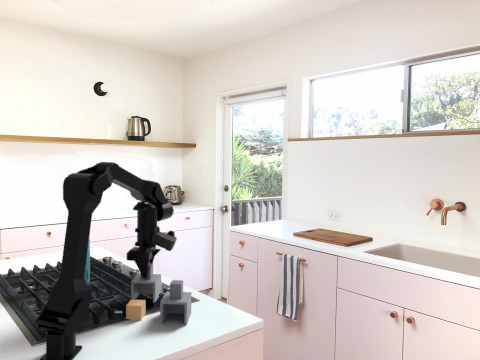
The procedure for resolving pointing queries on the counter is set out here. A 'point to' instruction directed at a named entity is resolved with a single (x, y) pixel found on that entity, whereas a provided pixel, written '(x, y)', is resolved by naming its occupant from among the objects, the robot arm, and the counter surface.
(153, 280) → the cover
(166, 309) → the cover
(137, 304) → the brown cube
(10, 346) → the counter surface
